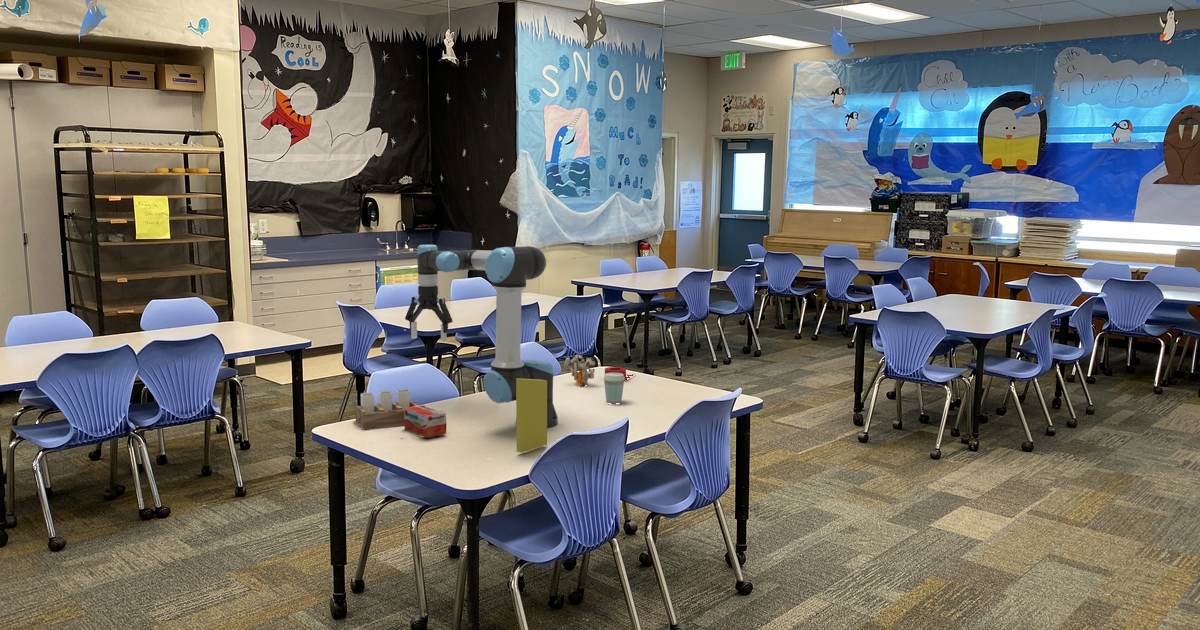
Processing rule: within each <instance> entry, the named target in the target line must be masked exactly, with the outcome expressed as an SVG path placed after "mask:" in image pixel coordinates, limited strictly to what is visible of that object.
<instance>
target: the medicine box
mask: <svg viewBox="0 0 1200 630" xmlns="http://www.w3.org/2000/svg"><path fill="white" fill-rule="evenodd" d="M404 421H405V426H404V430H405V431H408V432H411V433H412V434H416V435H418V436H421V437H423V438H426V439H427V438H434V437H436V436H439V437H440V436H443V435H447V413H446V411H442V410H440V409H436V408H434V407H430V406H429V405H425V404H420V405H419V404H418V406H413V407H407V408H404Z"/></svg>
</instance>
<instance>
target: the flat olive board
mask: <svg viewBox="0 0 1200 630" xmlns="http://www.w3.org/2000/svg"><path fill="white" fill-rule="evenodd" d="M515 401H516V404H515V406H516V408H515V409H516V410H515V412H516V414H515V415H516V416H515V425H516V426H515V427H516V432H515V433H516V435H515V436H516V452H518V453H520V454H522V453H525V452H529V451H531V450H534V449H537V448H541V447H543V446H547V445H548V428H547V381H546V380H537V379H519V378H516V400H515Z"/></svg>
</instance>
